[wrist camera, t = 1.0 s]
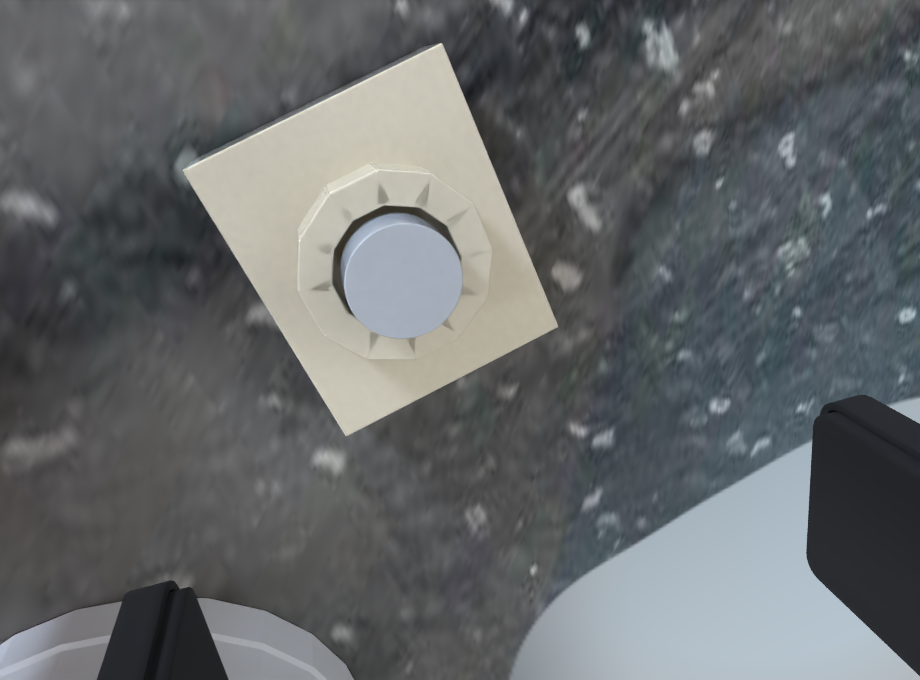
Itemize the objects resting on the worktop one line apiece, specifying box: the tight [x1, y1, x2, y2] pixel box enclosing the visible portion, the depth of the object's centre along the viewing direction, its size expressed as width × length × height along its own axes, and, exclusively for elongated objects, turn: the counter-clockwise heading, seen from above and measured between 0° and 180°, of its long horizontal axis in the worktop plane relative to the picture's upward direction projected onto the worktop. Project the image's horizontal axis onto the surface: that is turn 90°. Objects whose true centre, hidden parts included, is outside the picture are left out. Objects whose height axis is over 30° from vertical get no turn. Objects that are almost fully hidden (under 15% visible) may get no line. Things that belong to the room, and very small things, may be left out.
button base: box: [183, 43, 558, 436], centre depth 27 cm, size 12×10×5 cm
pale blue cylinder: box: [340, 212, 463, 339], centre depth 24 cm, size 4×4×2 cm
